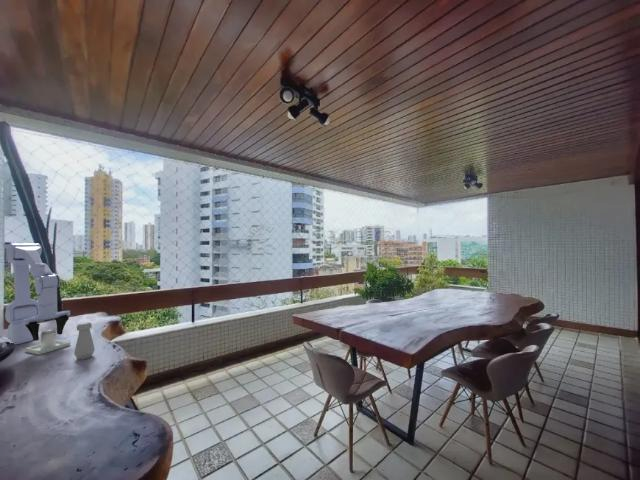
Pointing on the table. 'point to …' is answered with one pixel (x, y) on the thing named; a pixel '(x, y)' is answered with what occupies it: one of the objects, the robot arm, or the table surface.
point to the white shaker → (48, 339)
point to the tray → (38, 351)
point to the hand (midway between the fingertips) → (48, 337)
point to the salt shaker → (84, 342)
